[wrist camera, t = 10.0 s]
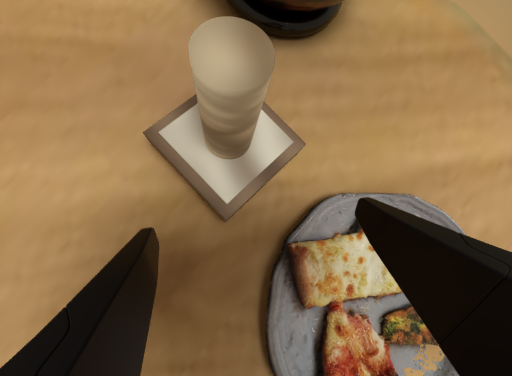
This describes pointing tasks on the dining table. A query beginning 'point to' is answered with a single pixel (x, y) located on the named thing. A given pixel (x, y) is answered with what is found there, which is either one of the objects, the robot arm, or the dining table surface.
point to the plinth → (223, 170)
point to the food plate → (344, 298)
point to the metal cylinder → (230, 81)
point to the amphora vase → (288, 15)
